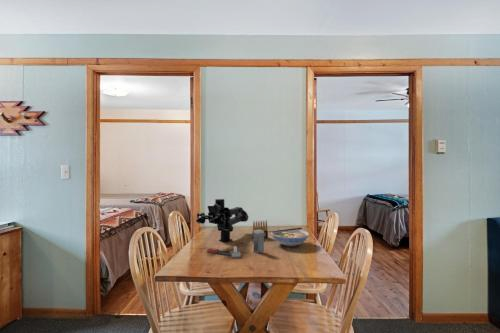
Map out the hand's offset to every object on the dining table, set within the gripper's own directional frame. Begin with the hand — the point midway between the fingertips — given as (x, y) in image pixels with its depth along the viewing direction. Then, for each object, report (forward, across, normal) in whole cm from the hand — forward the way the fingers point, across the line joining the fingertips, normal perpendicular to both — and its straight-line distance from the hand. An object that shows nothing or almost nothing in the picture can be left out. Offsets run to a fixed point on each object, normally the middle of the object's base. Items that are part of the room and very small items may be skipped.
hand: (202, 221), depth 152 cm
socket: (-10, +29, +18) cm, 36 cm away
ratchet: (+1, +13, +17) cm, 21 cm away
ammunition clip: (-39, +18, +19) cm, 47 cm away
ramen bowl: (-32, +40, +19) cm, 55 cm away
